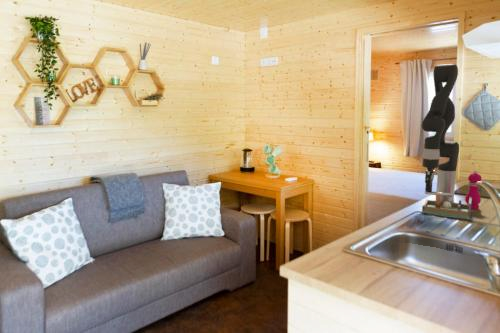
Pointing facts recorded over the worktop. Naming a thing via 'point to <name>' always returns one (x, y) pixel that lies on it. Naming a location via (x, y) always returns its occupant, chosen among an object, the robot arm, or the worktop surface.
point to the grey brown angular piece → (437, 195)
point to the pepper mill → (473, 191)
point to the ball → (447, 205)
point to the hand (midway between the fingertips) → (428, 189)
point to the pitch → (454, 211)
